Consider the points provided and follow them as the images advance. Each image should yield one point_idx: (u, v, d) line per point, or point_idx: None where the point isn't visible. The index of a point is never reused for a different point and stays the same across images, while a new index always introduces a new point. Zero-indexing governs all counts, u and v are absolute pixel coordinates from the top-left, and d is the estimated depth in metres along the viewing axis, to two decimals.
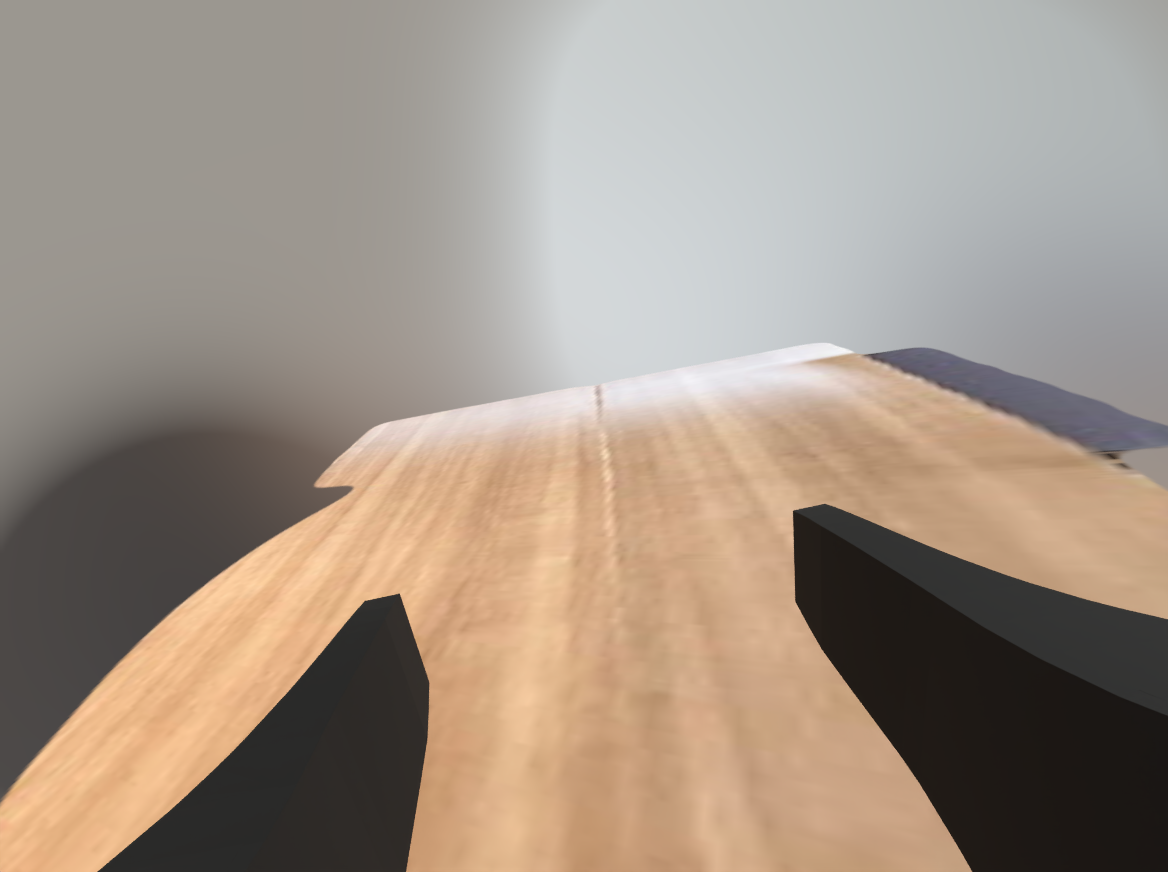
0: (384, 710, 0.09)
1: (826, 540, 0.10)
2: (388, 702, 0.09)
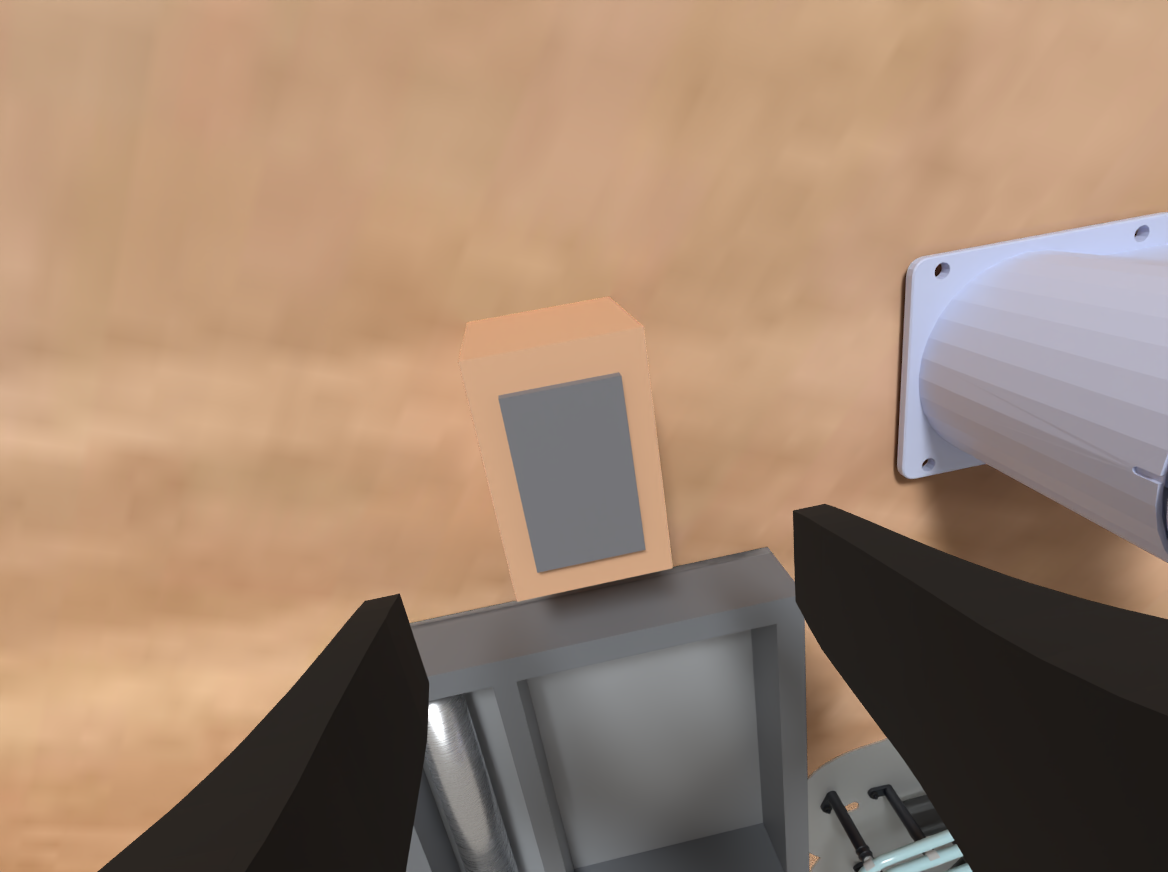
0: (384, 711, 0.09)
1: (826, 540, 0.10)
2: (388, 702, 0.09)
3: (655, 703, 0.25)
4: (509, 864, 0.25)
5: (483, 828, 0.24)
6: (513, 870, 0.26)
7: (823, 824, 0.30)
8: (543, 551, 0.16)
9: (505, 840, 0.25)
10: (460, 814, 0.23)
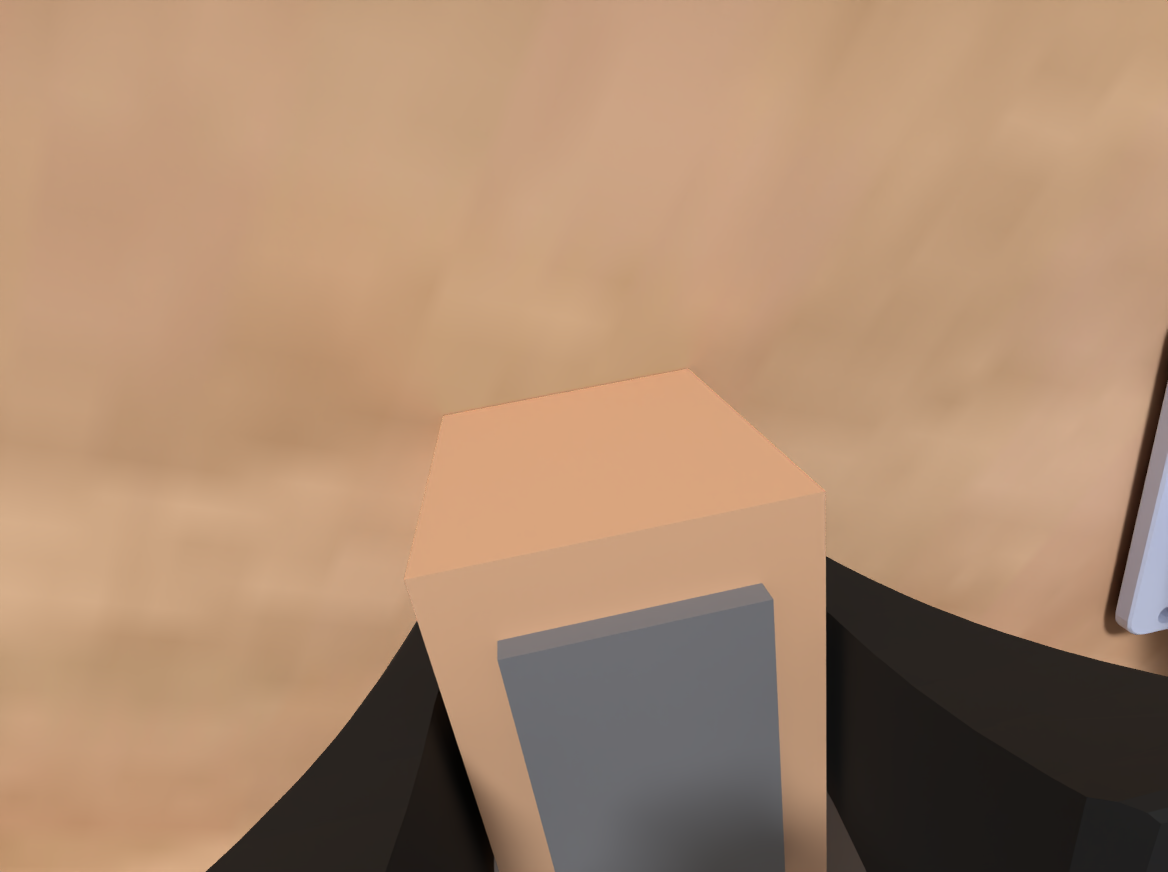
0: None
1: None
2: None
3: None
4: None
5: None
6: None
7: None
8: None
9: None
10: None
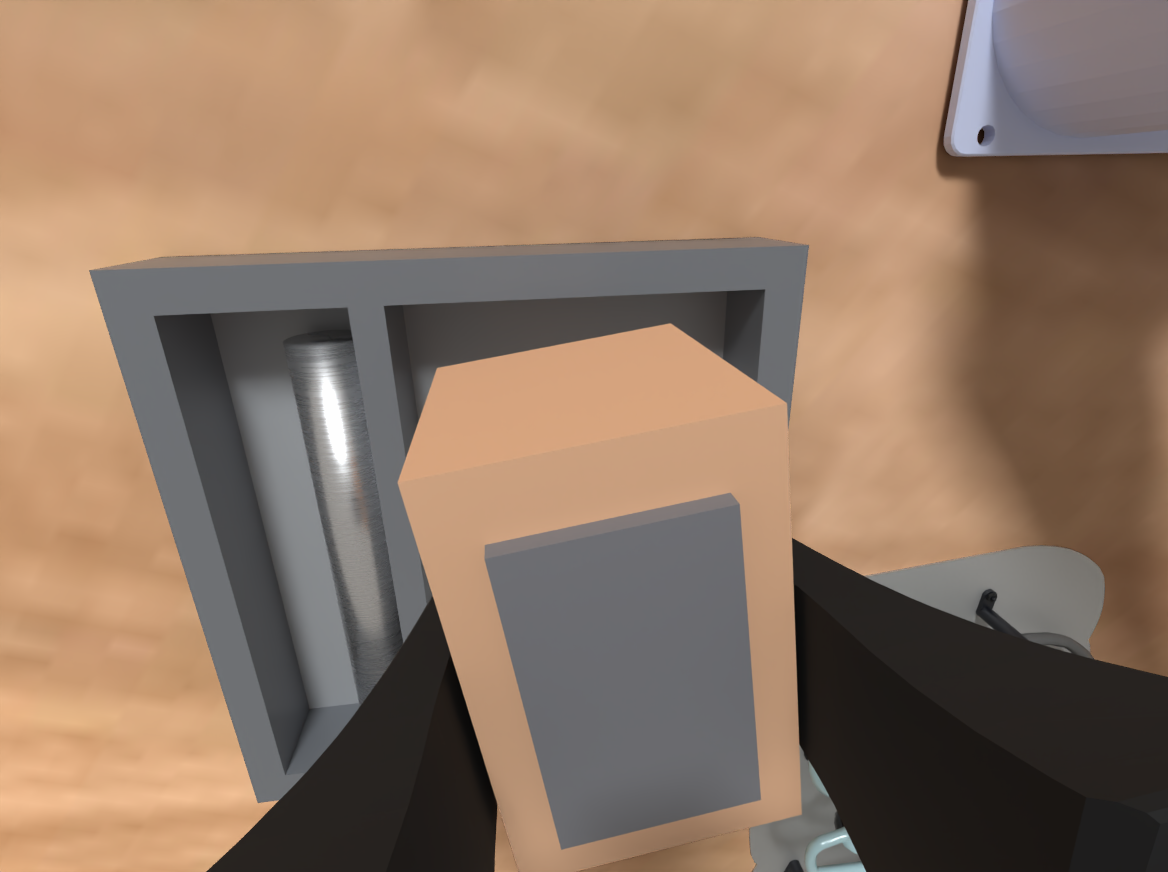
0: None
1: None
2: None
3: None
4: None
5: None
6: None
7: None
8: (574, 815, 0.09)
9: None
10: None
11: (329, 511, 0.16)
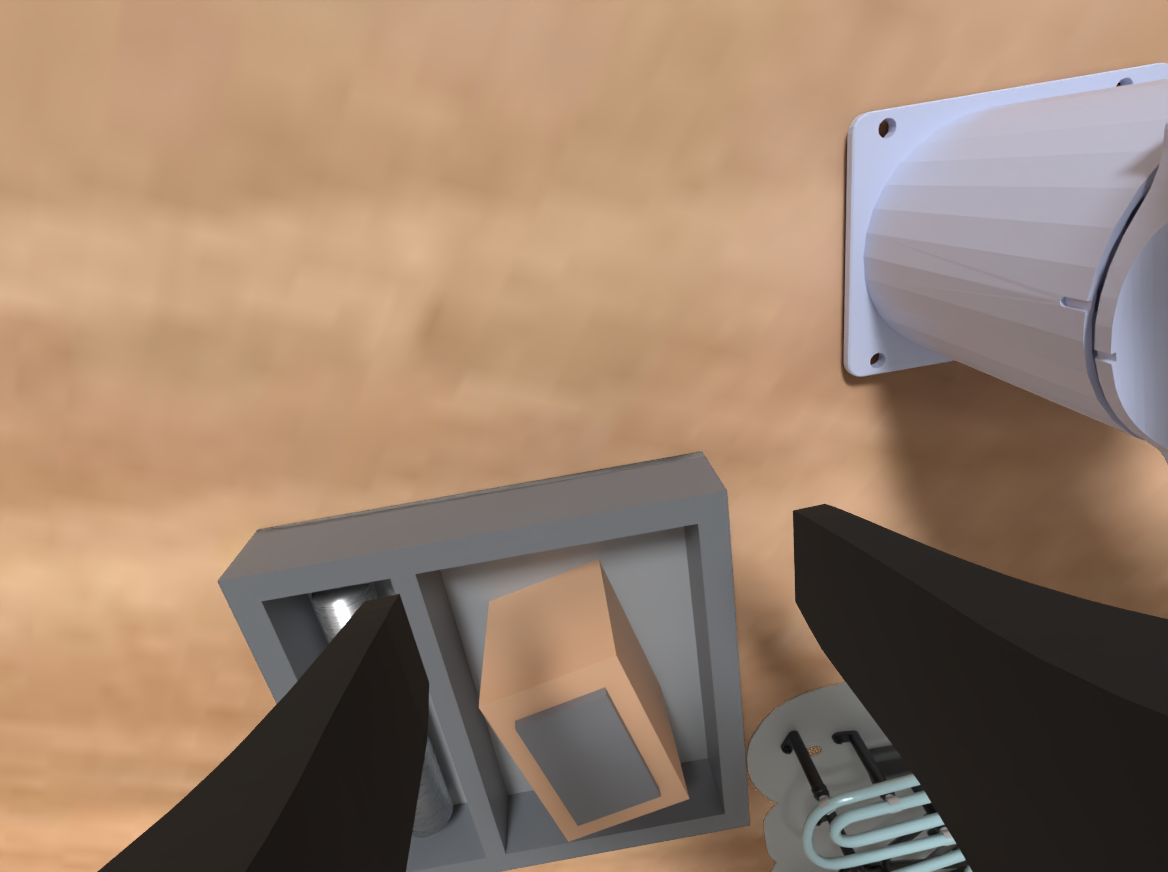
0: (384, 710, 0.09)
1: (826, 540, 0.10)
2: (388, 702, 0.09)
3: None
4: (435, 778, 0.24)
5: None
6: (440, 785, 0.25)
7: (783, 766, 0.28)
8: (578, 812, 0.20)
9: (430, 753, 0.24)
10: None
11: None
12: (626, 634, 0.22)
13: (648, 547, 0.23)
